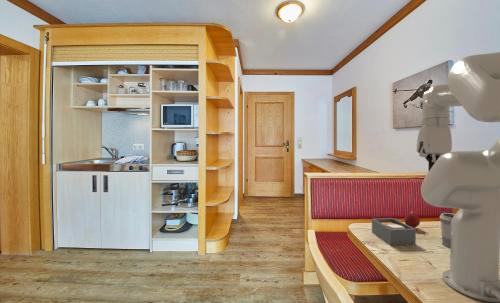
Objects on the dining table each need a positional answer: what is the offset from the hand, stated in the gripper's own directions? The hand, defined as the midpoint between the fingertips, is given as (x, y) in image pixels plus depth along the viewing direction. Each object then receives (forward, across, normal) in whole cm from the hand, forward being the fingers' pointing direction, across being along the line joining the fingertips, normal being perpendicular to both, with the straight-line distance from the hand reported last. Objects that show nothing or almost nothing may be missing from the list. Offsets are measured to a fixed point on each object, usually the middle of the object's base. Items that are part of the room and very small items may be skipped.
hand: (434, 172), depth 82 cm
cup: (+29, -8, -1) cm, 30 cm away
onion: (+29, -6, -18) cm, 35 cm away
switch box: (+29, +9, -9) cm, 32 cm away
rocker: (+24, +9, -9) cm, 27 cm away
